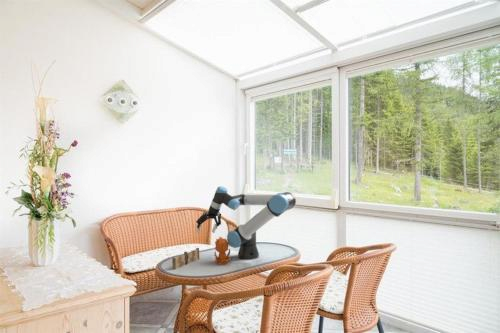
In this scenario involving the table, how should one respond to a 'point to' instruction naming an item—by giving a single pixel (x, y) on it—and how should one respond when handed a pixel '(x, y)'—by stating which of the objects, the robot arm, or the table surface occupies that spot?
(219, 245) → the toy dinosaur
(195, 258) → the fence panel hinged
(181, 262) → the fence panel fixed
